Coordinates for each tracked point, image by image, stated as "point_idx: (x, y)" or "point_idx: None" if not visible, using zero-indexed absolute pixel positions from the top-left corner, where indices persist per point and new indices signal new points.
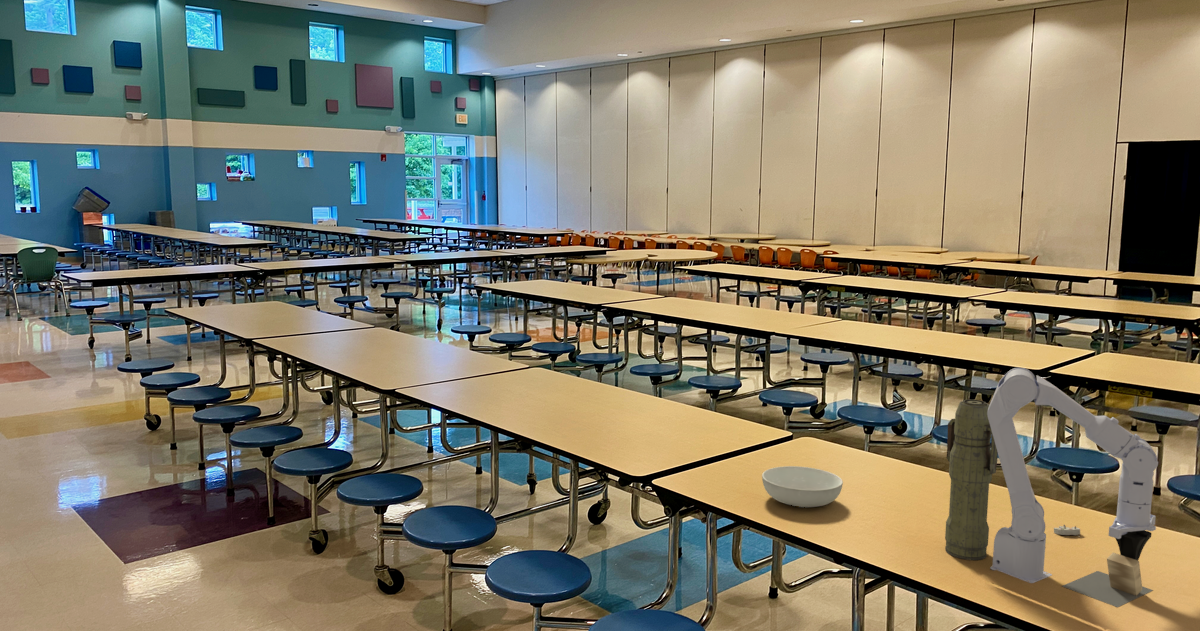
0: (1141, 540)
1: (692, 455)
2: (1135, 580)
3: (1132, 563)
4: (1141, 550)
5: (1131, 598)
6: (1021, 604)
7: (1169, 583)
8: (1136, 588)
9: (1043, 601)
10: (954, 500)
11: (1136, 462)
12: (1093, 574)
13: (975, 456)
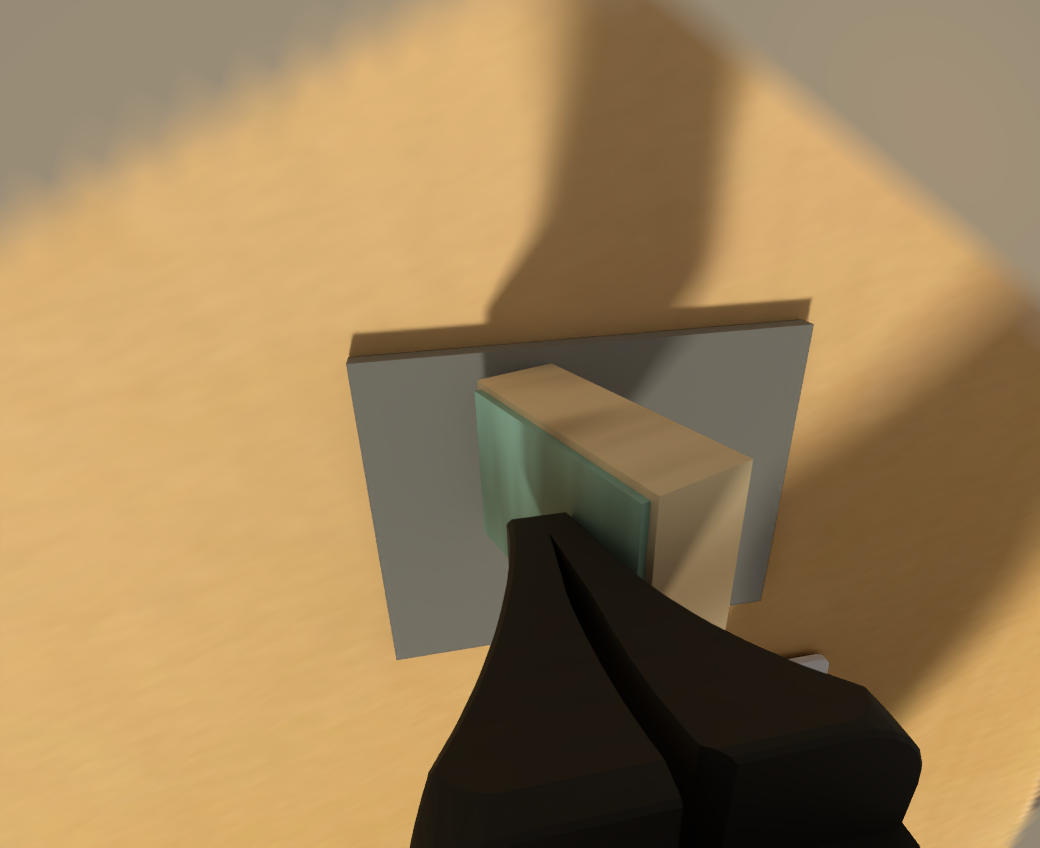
0: (818, 705)
1: None
2: (625, 405)
3: (713, 501)
4: (520, 612)
5: (617, 356)
6: (1034, 550)
7: (44, 397)
8: (576, 381)
9: (946, 536)
10: None
11: None
12: (472, 636)
13: None
